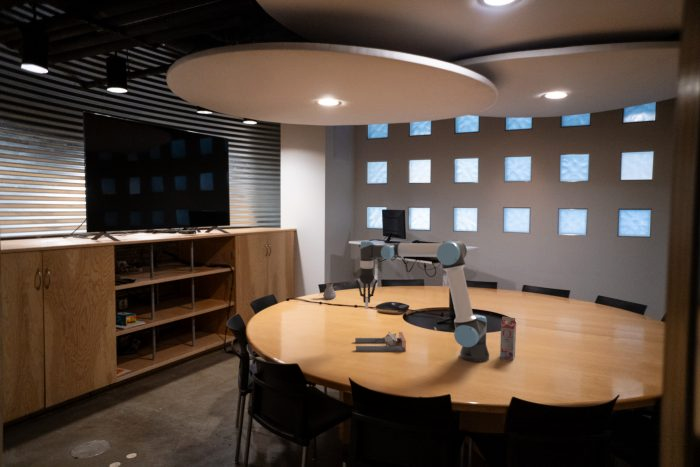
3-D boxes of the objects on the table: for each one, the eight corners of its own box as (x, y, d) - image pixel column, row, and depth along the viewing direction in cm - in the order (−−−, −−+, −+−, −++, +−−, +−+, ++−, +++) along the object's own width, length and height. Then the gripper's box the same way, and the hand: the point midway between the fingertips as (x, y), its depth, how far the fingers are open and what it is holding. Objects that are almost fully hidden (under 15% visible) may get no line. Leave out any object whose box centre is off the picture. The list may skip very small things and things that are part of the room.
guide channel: (405, 351, 247) (405, 340, 247) (355, 351, 247) (355, 340, 246) (401, 341, 264) (402, 332, 263) (355, 341, 264) (355, 332, 263)
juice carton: (513, 360, 233) (514, 319, 232) (500, 358, 237) (501, 317, 235) (515, 356, 239) (516, 316, 238) (502, 354, 242) (503, 315, 241)
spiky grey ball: (390, 353, 254) (383, 342, 249) (384, 344, 261) (378, 333, 256) (403, 345, 255) (397, 334, 250) (397, 336, 262) (391, 325, 257)
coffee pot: (320, 299, 384) (320, 282, 383) (327, 296, 394) (327, 280, 393) (342, 301, 374) (342, 284, 373) (348, 299, 384) (348, 282, 383)
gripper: (377, 266, 256) (377, 306, 258) (355, 266, 256) (355, 306, 258) (378, 268, 249) (378, 309, 250) (355, 268, 249) (355, 309, 250)
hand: (366, 308), depth 254 cm, fingers closed
